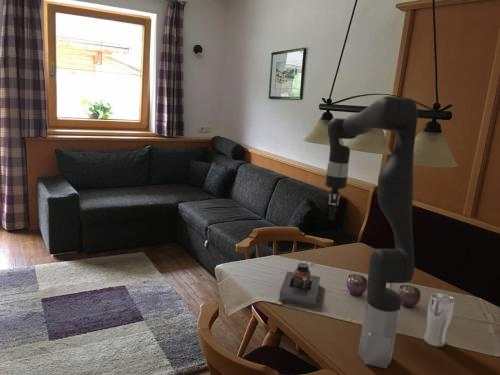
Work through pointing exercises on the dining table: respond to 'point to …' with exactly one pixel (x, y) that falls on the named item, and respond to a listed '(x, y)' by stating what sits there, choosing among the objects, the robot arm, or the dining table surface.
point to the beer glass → (438, 318)
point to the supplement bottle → (301, 277)
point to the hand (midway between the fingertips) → (331, 216)
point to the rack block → (299, 291)
